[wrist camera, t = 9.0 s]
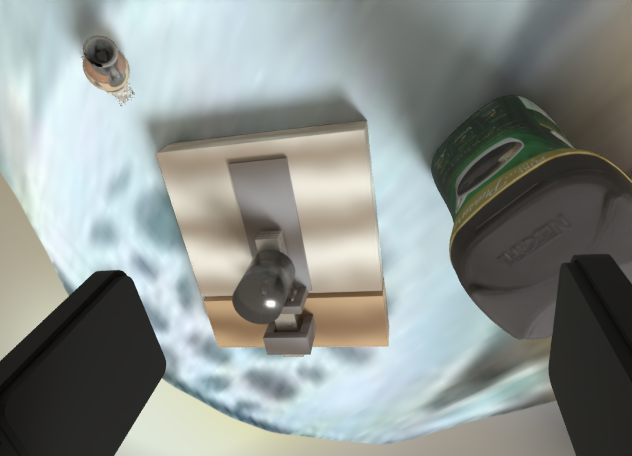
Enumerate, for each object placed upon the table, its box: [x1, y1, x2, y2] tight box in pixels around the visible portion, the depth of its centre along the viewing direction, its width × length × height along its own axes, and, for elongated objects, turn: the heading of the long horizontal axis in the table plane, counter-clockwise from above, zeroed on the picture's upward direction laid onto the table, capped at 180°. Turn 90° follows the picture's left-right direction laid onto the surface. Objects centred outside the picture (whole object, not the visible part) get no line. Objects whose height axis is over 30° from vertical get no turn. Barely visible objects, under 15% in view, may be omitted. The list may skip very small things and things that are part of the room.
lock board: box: [156, 120, 389, 355], centre depth 41 cm, size 22×18×6 cm
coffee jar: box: [432, 95, 632, 340], centre depth 29 cm, size 10×8×19 cm
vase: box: [68, 36, 135, 106], centre depth 36 cm, size 5×5×6 cm
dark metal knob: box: [232, 230, 304, 357], centre depth 39 cm, size 13×4×7 cm, turn 9°
